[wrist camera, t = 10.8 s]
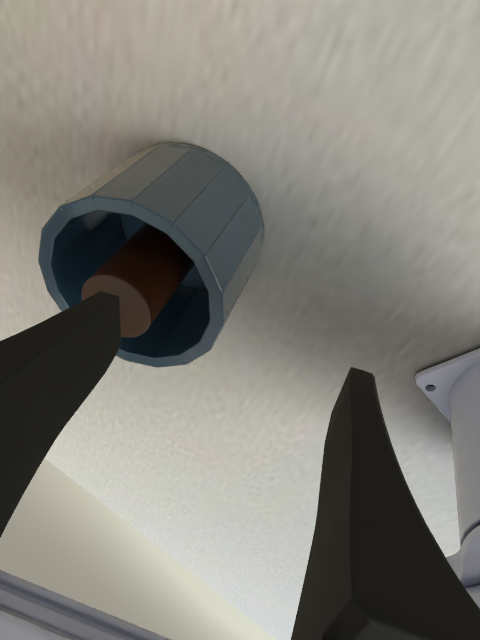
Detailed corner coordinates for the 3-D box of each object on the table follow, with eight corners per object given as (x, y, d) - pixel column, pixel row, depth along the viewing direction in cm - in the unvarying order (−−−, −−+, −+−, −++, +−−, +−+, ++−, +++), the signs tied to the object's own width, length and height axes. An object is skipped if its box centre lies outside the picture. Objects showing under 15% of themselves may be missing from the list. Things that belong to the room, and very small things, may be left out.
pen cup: (297, 239, 23) (265, 317, 18) (194, 312, 27) (146, 389, 23) (178, 103, 20) (102, 149, 15) (88, 209, 25) (9, 270, 20)
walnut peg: (222, 234, 23) (165, 317, 18) (186, 264, 25) (123, 348, 19) (180, 188, 22) (105, 261, 17) (145, 223, 24) (68, 298, 19)
